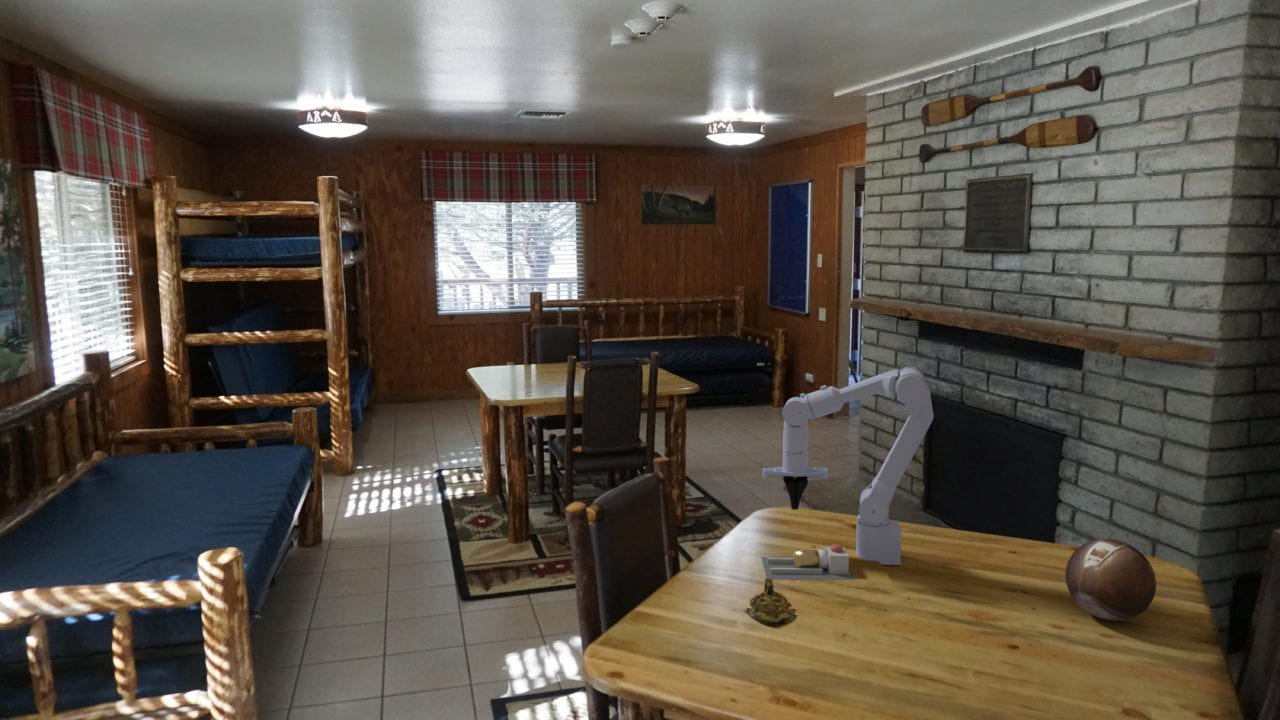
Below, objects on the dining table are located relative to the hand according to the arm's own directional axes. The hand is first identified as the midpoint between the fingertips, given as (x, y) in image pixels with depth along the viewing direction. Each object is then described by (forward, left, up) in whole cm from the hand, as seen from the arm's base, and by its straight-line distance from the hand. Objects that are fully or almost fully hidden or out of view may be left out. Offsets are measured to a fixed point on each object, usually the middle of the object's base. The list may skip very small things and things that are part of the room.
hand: (794, 508), depth 194 cm
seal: (+9, +30, -11) cm, 33 cm away
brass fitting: (-1, +12, -9) cm, 15 cm away
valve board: (-1, +12, -10) cm, 16 cm away
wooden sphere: (-55, +32, -11) cm, 65 cm away
